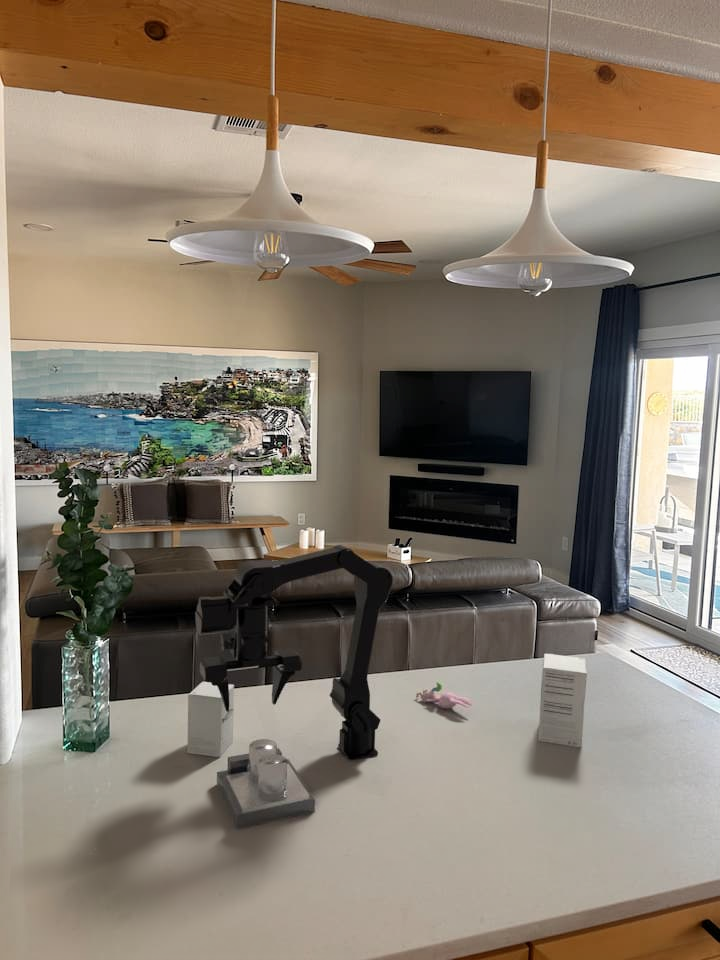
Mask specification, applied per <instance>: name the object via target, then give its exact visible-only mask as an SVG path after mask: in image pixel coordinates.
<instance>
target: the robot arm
mask: <svg viewBox="0 0 720 960" xmlns="http://www.w3.org/2000/svg"><path fill="white" fill-rule="evenodd" d="M341 569H344V570H345V571H346V572H347V573H350V575H352V576H353V591H354V596H355V601H356V608H355V611H354V612H355V614H354V619H353V624H352V630H351V635H350V640H349V641H350V642H349V647H348V652H347V657H346V663H345V667H344V668H345V669H344V672H343V673H342V675H341V676H340V677H339V678H336V677H334V678H332V688H331V692H330V694H328V695H329V697H330V698H331V703H332V704H331V705H333V707H334V708H335V710H336V711H338V713H339V714H340V716H341V717H342V718H344V720H342V722H341V729H339V740H338V741H339V743H338V745H337V746H338V748H339V749H340V750H341V752H342V753H343V754H344V755H345V756H346V758H347V759H348V760H350V761H353V760H358V759H363V758H368V757H373V756H378V755H379V752H378V750H377V749H376V748H375V744H376V730H378V728H379V726H380V722H381V719H380V718H379V716H377V715H376V713H374V711H372V710H371V692H370V687H369V681H368V675H369V669H370V663H371V658H372V653H373V652H372V651H373V647H374V641H375V636H376V632H377V631H376V630H377V625H378V620H379V615H380V612H381V611H380V610H381V609H382V607H383V606H384V605H385V603H386V602H387V600H388V599H389V595H390V592H391V590H392V587H393V584H394V577H393V575H392V573H391V572H390V570H388V569H387V567H384V566H382V565H380V564H378V563H376V562H374V561H371V560H365V559H364V558H363V557H360V556H359V555H358V554H356V553H355V552H354V551H353V550H352V549H351V548H349V547H347V546H346V545H343V544H336V545H334V546H333V547H329V548H326V549H321V550H318V551H313V552H308V553H305V554H301V555H297V556H294V557H289V558H285V559H280V560H278V559H277V560H269V559H261V560H247V561H243V562H242V563H240V564H239V565H238V567H237V569H236V570H235V572H234V578H233V579H232V581H230V583H229V585H228V586H227V587H226V589H225V590H224V591H223V595H222V596H221V595H220V596H199V597H198V603H197V605H196V611H195V614H194V615H195V627H196V631H197V635H199V636H201V635H209V634H210V635H211V634H219V633H221V634H220V648H221V651H227V650H230V655H232V657H233V658H234V659H235V660H229V661H228V660H227V661H224V658H222V656H220V655H219V656H218V655H217V656H212V657H210V656H209V657H202V659H201V660H200V662H199V673H200V675H201V677H202V678H203V680H204V682H211V684H212V685H213V686H217V687H218V689H219V691H220V694H221V698H222V701H223V704H224V707H225V710H226V711H227V712H228V711H229V685H228V684H229V680H228V678H227V676H228V673H231V672H232V673H233V672H239V671H247V670H248V671H249V670H254V669H255V670H256V669H264V668H272V671H273V675H272V676H273V678H272V689H271V703H272V705H275V706H276V704H277V702H278V699H279V697H280V695H281V694H282V691H283V690H284V688H285V686H286V684H287V683H288V681H289V679H290V678H291V677H292V676H295V675H296V672H298V671H299V672H301V670H302V668H303V666H302V665H303V660H302V657H301V656H300V655H299V653H298V652H296V651H295V650H294V649H293V647H287V648H281V649H275V650H274V652H273V655H271V656H270V655H269V656H267V655H268V653H267V651H268V650H267V646H268V643H269V636H268V607H272V606H273V607H274V606H275V607H276V606H279V601H277V599H276V598H274V597H273V596H272V594H271V593H273V592H275V591H276V590H278V589H280V588H281V587H282V586H283V585H285V584H288V583H290V582H293V581H297V580H301V579H305V578H309V577H312V576H317V575H320V574H325V573H328V572H332V571H335V570H341ZM235 626H236V630H235V633H234V637H233V633H231V632H230V631H231V630H234V627H235Z"/></svg>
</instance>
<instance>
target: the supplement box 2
mask: <svg viewBox="0 0 720 960" xmlns="http://www.w3.org/2000/svg"><path fill="white" fill-rule="evenodd" d="M542 661H543V662H542V670H541V671H542V672H541V673H542V674H541V687H540V688H541V690H540V705H539V706H540V707H539V723H538V724H539V725H538V742H544V743H550V744H555V745H562V746H570V747H575V748H582V746H583V732H584V731H583V730H584V717H585V700H586V691H587V690H586V689H587V677H588V672H587V666H586V665H587V662H586V661H587V659H586V658H584V657H576V656H569V655H568V656H567V655H561V654H555V653H543V660H542Z"/></svg>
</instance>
